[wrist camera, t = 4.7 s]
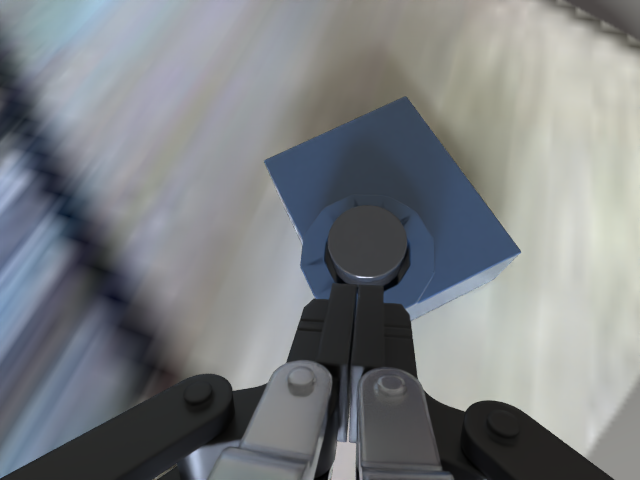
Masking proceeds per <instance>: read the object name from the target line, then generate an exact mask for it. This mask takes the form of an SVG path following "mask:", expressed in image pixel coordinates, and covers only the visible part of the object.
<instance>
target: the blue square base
mask: <svg viewBox="0 0 640 480" xmlns="http://www.w3.org/2000/svg"><path fill="white" fill-rule="evenodd" d="M264 163H265V165H266V168H267V170H268V172H269V175H270V177H271V179H272V182H273V184H274V186H275V189H276V191H277V193H278V196H279V198H280V200H281V202H282V204H283V206H284V208H285V211H286V213H287V215H288V217H289V219H290V221H291V223H292V225H293V227H294V229H295V231H296V233H297V235H298V237H299V239H300V241H301V243H302V255H301V264H300V266H301V269H302V272H303V274H304V276H305V278H306V280H307V282H308V284H309V286H310V288H311V291H312V293H313V295H314V297H315V299H329V297H330V292H331V288H332V284H333V283H339V284H346V283H345V282H344V281H342V280H341V279H340V278H339V276H338V275H337V274H336V272H335V270H334V268H333V265H332V262H331V258H330V254H329V250H328V234H329V231H330V228H331V226H332V224H333V223H334V221H335V220H336V219H337V218H338V217H339V216H340V215H341V214H342V213H344V212H345V211H347V210H349V209H351V208H354V207H357V206H362V205H373V206H378V207H381V208H384V209H386V210H388V211H390V212H391V213H393V214H394V215H395V216H396V217H397V218H398V219H399V220H400V222H401V223H402V225H403V226H404V228H405V231H406V235H407V249H406V253H405V257H404V261H403V265H402V268H401V270H400V272H399V274H398V275H397V276H396V278H395V279H394V280H393V281H391V282H390V283H389V284H387V285H385V286H383V287H384V303H395V304H402V305H403V307H404V308H405V309H406V310H407V312H408V313H409V314H410V320H411V321H412V320H414V319H416V318H418V317H420V316H422V315H424V314H426V313H428V312H430V311H432V310H434V309H436V308H438V307H440V306H442V305H444V304H446V303H448V302H450V301H452V300H454V299H456V298H458V297H460V296H462V295H464V294H466V293H468V292H470V291H472V290H474V289H476V288H478V287H480V286H482V285H484V284H486V283H488V282H490V281H492V280H494V279H495V278H496V277H497V276H498V275H499V274H500V273H501V272H502V271H503V270H504V269H505V268H506V267H507V266H508V265H509V264H510V263H511V262H512V261H513V260H514V259H515V258H516V257H517V256H518V255H519V254H520V253H521V251H520V249H519V248H518V246H517V245H516V244H515V242H514V241H513V240H512V238H511V237H510V236H509V234H508V233H507V232H506V230H505V229H504V228H503V226H502V225H501V223H500V222H499V221H498V219H497V218H496V217H495V215H494V214H493V213H492V211H491V210H490V209H489V207H488V206H487V205H486V203H485V202H484V201H483V199H482V198H481V196H480V195H479V194H478V192H477V191H476V190H475V188H474V187H473V186H472V184H471V183H470V182H469V180H468V179H467V178H466V176H465V175H464V173H463V172H462V171H461V169H460V168H459V167H458V165H457V164H456V163H455V161H454V160H453V159H452V157H451V156H450V155H449V153H448V152H447V150H446V149H445V148H444V146H443V145H442V144H441V142H440V141H439V140H438V138H437V137H436V136H435V134H434V133H433V132H432V130H431V129H430V128H429V126H428V125H427V123H426V122H425V121H424V119H423V118H422V117H421V115H420V114H419V113H418V111H417V110H416V109H415V107H414V106H413V105H412V103H411V102H410V100H409V99H408V98H407V96H405V97H402V98H400V99H398V100H396V101H394V102H391V103H389V104H387V105H385V106H383V107H380V108H378V109H376V110H374V111H372V112H369V113H367V114H365V115H363V116H361V117H358V118H356V119H354V120H352V121H350V122H347V123H345V124H343V125H341V126H339V127H336V128H334V129H332V130H330V131H328V132H325V133H323V134H321V135H319V136H317V137H314V138H312V139H310V140H308V141H306V142H303V143H301V144H299V145H297V146H295V147H293V148H290V149H288V150H286V151H284V152H282V153H279V154H277V155H275V156H273V157H271V158H268V159H266V160H264ZM357 299H358V288H357Z"/></svg>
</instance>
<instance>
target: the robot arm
mask: <svg viewBox="0 0 640 480" xmlns="http://www.w3.org/2000/svg"><path fill="white" fill-rule="evenodd" d="M349 408H350V428H349V442H350V443H356V469H355V480H614V479H613V478H611V477H610V476H609V475H607V474H606V473H605V472H603V471H602V470H601V469H599V468H598V467H597V466H595V465H594V464H593V463H591V462H590V461H589V460H587V459H586V458H585V457H583V456H582V455H581V454H579V453H578V452H577V451H575V450H574V449H573V448H571V447H570V446H568V445H567V444H566V443H564V442H563V441H562V440H560V439H559V438H558V437H556V436H555V435H554V434H552V433H551V432H550V431H548V430H547V429H546V428H544V427H543V426H542V425H540V424H539V423H538V422H536V421H535V420H534V419H532V418H531V417H530V416H528V415H527V414H526V413H524V412H523V411H521V410H519V409H518V408H516V407H514V406H511V405H509V404H506V403H503V402H498V401H489V400H487V401H480V402H476V403H474V404H472V405H471V406H470V407H469V408H468V409H467V410H466V412H464V411H461V410H458V409H455V408H452V407H450V406H447V405H444V404H442V403H440V402H438V401H436V400H435V399H433V398H432V397H431V396H429V395H428V394H427V393H426V392H425V391H424V390H423V387H422V385H421V384H420V382H419V381H418V377H417V370H416V362H415V353H414V345H413V339H412V329H411V320H410V314H409V313H408V312H407V310H406V309H405V308H404V307H403V305H402V304H395V303H384V287H383V286H376V285H359V289H358V299H357V284H339V283H333V284H332V288H331V292H330V297H329V299H313V300H312V301H311V302H310V303H309V304H308V305H306V306H305V307H304V309H303V312H302V316H301V319H300V322H299V325H298V328H297V331H296V334H295V337H294V340H293V343H292V347H291V350H290V353H289V356H288V359H287V362H286V364H284V365H282V366H280V367H279V368H278V369H276V370H275V371H274V373H273V374H272V376H271V378H270V380H269V382H268V383H266V384H264V385H261V386H258V387H254V388H248V389H242V390H236V391H232V386H231V384H230V383H229V381H228V380H226V379H225V378H224V377H221V376H219V375H215V374H200V375H196V376H192V377H189V378H187V379H185V380H183V381H181V382H179V383H177V384H175V385H174V386H172V387H170V388H168V389H166V390H164V391H162V392H161V393H159V394H157V395H155V396H153V397H151V398H149V399H148V400H146V401H144V402H142V403H140V404H138V405H136V406H134V407H133V408H131V409H129V410H127V411H125V412H123V413H121V414H120V415H118V416H116V417H114V418H112V419H110V420H108V421H107V422H105V423H103V424H101V425H99V426H97V427H95V428H94V429H92V430H90V431H88V432H86V433H84V434H82V435H80V436H79V437H77V438H75V439H73V440H71V441H69V442H67V443H66V444H64V445H62V446H60V447H58V448H56V449H54V450H53V451H51V452H49V453H47V454H45V455H43V456H41V457H40V458H38V459H36V460H34V461H32V462H30V463H28V464H27V465H25V466H23V467H21V468H19V469H17V470H15V471H13V472H12V473H10V474H8V475H6V476H4V477H2V478H0V480H152V479H154V478H155V477H157V476H158V475H160V474H161V473H163V472H164V471H166V470H167V469H169V468H170V467H172V466H173V465H175V464H176V463H177V466H176V467H175V468H174V469H172V470H171V471H169V472H168V473H166V474H165V475H163V476H162V477H160V478H159V479H157V480H331V477H332V471H333V462H334V460H335V454H336V446H337V441H339V442H346V441H347V430H348V419H349Z"/></svg>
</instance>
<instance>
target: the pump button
mask: <svg viewBox="0 0 640 480" xmlns="http://www.w3.org/2000/svg"><path fill="white" fill-rule="evenodd" d="M406 249H407V235H406V231H405V228H404V226H403V225H402V223H401V222H400V220H399V219H398V218H397V217H396V216H395V215H394V214H393V213H391V212H390V211H388V210H386V209H384V208H381V207H378V206H373V205H362V206H357V207H354V208H351V209H349V210H347V211H345V212H344V213H342V214H341V215H340V216H339V217H338V218H337V219H336V220H335V221H334V223H333V224H332V226H331V228H330V231H329V234H328V250H329V254H330V258H331V262H332V265H333V268H334V270H335V272H336V274H337V275H338V276H339V278H340V279H341V280H342V281H344V282H345V283H346V284H357V288H358V289H359V285H376V286H385V285H387V284H389V283H390V282H391V281H393V280H394V279H395V278H396V276H397V275H398V274H399V272H400V270H401V268H402V265H403V261H404V257H405V253H406Z"/></svg>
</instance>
